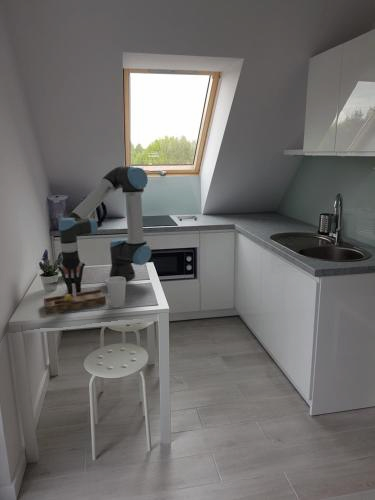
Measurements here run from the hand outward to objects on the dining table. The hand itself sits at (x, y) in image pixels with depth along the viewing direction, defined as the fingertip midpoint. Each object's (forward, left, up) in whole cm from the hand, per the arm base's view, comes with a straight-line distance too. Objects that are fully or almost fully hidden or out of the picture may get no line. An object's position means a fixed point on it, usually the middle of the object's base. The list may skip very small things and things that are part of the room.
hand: (74, 296), depth 191 cm
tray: (0, 0, -4) cm, 4 cm away
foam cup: (-19, +10, -4) cm, 22 cm away
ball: (+3, 0, 0) cm, 3 cm away
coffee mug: (-3, -18, -4) cm, 19 cm away
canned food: (-5, -49, -4) cm, 50 cm away
